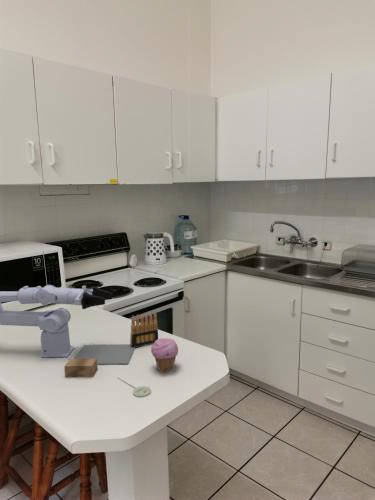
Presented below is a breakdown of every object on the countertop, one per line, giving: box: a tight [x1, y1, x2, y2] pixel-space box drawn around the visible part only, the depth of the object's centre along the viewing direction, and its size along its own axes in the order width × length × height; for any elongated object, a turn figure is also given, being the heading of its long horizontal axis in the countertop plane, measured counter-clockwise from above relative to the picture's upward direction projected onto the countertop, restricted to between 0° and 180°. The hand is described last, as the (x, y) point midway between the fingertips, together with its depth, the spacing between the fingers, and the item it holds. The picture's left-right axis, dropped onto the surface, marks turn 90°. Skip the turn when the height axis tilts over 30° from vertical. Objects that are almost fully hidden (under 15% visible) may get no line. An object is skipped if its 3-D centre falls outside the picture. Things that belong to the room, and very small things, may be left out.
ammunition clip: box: [129, 311, 159, 348], centre depth 140 cm, size 11×2×12 cm, turn 119°
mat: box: [73, 343, 136, 366], centre depth 134 cm, size 20×15×1 cm
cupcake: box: [150, 337, 179, 372], centre depth 122 cm, size 9×9×10 cm
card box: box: [64, 358, 99, 378], centre depth 121 cm, size 9×5×4 cm, turn 87°
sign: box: [117, 377, 152, 398], centre depth 113 cm, size 5×1×15 cm
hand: (108, 298), depth 131 cm, fingers open, 7 cm apart
